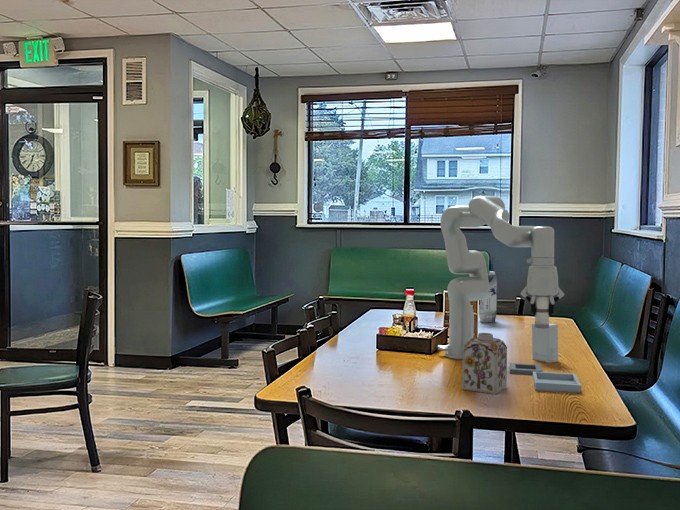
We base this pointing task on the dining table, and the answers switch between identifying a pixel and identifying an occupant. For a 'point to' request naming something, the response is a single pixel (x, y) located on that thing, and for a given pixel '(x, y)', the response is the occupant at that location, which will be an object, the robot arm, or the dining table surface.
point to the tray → (556, 382)
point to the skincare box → (545, 343)
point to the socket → (524, 368)
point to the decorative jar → (484, 364)
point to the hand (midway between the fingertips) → (542, 314)
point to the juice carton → (489, 301)
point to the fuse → (542, 312)
